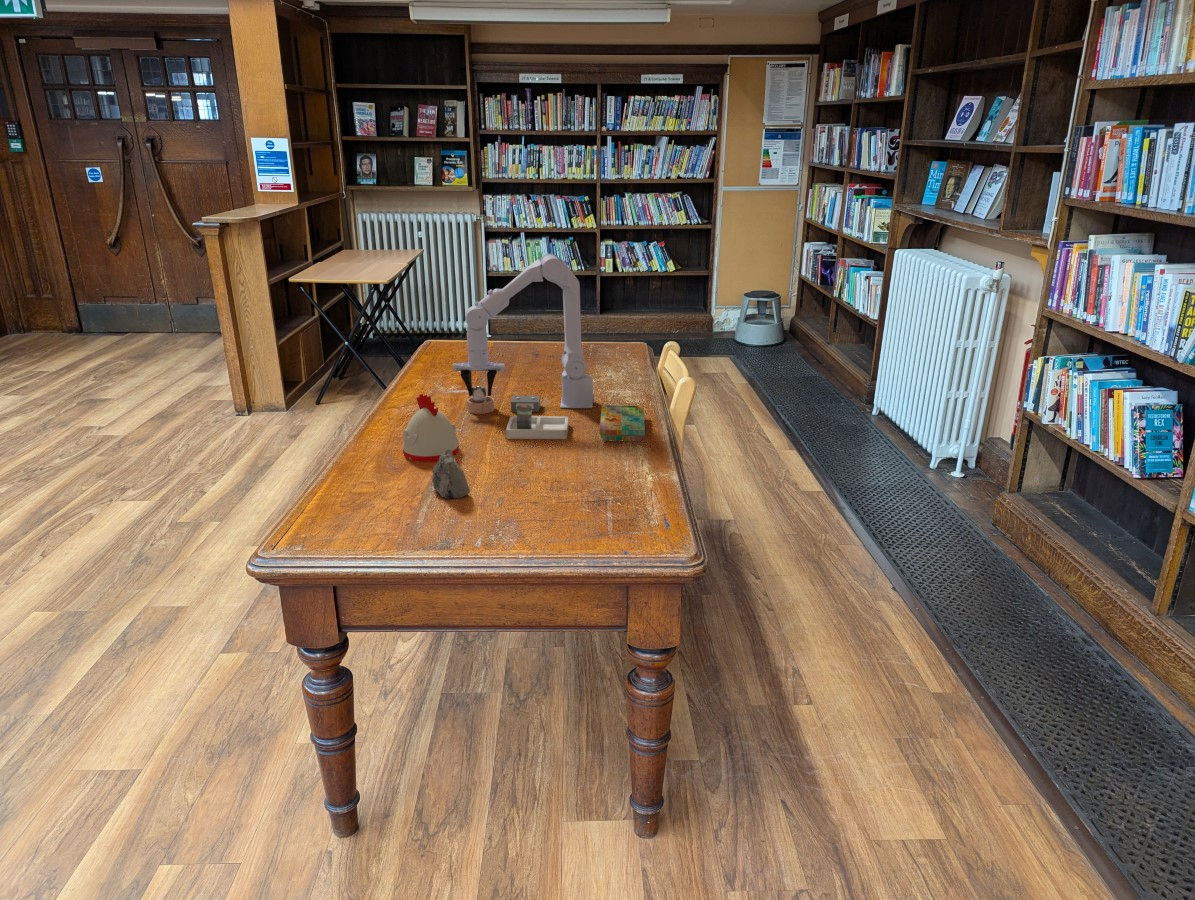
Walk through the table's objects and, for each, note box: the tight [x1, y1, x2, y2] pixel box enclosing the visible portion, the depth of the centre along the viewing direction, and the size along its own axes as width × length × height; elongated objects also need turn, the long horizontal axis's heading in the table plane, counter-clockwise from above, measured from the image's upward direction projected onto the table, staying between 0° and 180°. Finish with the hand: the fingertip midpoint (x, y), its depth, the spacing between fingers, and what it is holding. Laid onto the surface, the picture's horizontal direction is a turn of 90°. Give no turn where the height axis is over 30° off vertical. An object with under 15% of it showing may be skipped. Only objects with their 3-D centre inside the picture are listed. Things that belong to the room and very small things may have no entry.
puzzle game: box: [599, 404, 646, 442], centre depth 221 cm, size 12×5×20 cm
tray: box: [505, 415, 569, 440], centre depth 220 cm, size 16×11×2 cm
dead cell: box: [471, 385, 487, 403], centre depth 235 cm, size 4×4×6 cm
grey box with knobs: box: [510, 395, 541, 413], centre depth 237 cm, size 8×6×3 cm
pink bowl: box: [466, 395, 496, 415], centre depth 236 cm, size 8×8×3 cm
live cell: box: [516, 405, 533, 429], centre depth 219 cm, size 4×4×6 cm
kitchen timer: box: [402, 393, 460, 463], centre depth 204 cm, size 14×14×15 cm
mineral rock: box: [431, 449, 471, 500], centre depth 184 cm, size 13×11×10 cm
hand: (480, 395), depth 235 cm, fingers open, 5 cm apart
